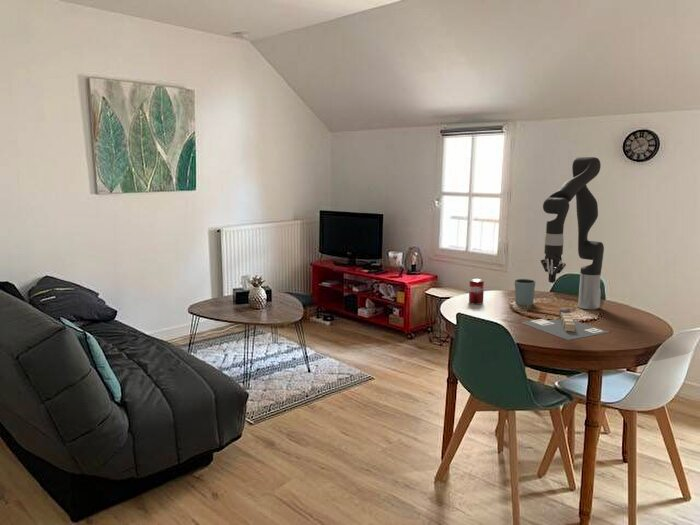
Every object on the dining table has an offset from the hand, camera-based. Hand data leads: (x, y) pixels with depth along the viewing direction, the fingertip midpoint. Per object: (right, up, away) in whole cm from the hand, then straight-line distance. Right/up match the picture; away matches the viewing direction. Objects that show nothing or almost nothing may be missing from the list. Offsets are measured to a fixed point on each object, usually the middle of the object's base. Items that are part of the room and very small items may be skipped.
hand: (551, 282), depth 238 cm
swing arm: (+7, -18, +1) cm, 20 cm away
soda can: (-24, -12, +41) cm, 49 cm away
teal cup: (0, -13, +38) cm, 40 cm away
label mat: (+4, -20, -2) cm, 20 cm away
